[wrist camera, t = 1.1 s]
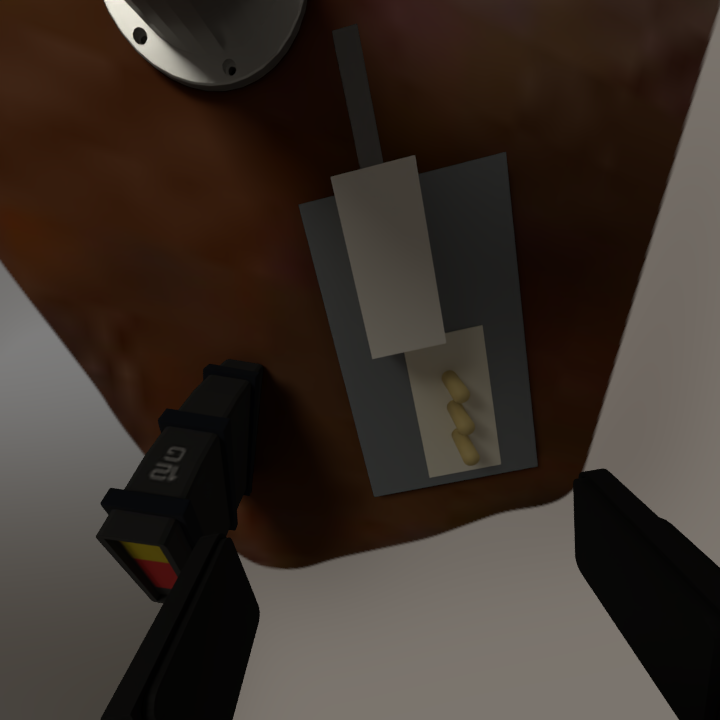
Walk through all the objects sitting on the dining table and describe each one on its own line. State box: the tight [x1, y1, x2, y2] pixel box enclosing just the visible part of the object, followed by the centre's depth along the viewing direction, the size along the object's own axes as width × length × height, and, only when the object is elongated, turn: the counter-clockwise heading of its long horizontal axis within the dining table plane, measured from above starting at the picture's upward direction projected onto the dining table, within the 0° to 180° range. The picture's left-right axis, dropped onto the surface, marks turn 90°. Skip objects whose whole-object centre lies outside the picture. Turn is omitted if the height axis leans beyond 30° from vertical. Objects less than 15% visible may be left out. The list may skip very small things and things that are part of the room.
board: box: [299, 152, 538, 497], centre depth 26 cm, size 24×14×5 cm, turn 13°
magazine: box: [96, 359, 263, 603], centre depth 25 cm, size 4×13×15 cm, turn 170°
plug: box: [330, 24, 446, 359], centre depth 22 cm, size 16×4×6 cm, turn 13°
